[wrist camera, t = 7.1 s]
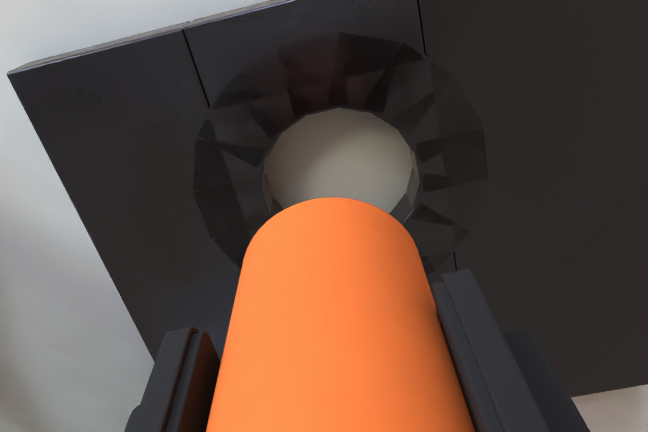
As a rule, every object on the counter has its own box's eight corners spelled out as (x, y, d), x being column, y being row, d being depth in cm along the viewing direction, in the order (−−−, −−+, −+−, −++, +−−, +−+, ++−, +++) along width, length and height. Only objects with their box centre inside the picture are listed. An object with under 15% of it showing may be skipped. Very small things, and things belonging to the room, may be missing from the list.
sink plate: (210, 433, 26) (204, 460, 24) (28, 62, 17) (4, 72, 16) (639, 357, 24) (658, 383, 22) (666, -102, 15) (700, -105, 14)
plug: (271, 357, 14) (228, 767, 7) (217, 219, 12) (88, 600, 5) (432, 325, 14) (551, 729, 7) (404, 177, 12) (533, 531, 5)
